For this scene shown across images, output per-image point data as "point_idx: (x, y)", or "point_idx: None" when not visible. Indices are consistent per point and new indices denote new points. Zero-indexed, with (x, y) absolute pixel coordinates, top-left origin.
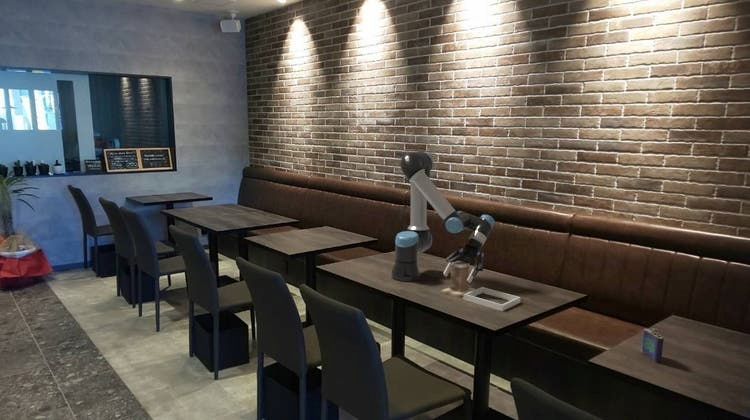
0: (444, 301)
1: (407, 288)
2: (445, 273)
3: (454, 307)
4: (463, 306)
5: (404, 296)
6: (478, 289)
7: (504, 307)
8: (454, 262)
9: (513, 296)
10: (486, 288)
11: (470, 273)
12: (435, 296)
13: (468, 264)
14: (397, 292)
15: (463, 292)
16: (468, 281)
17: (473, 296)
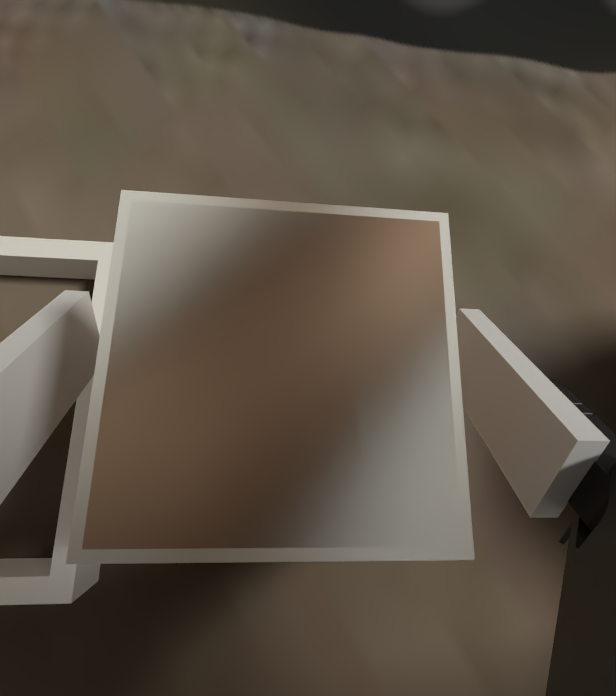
0: (225, 142)
1: (575, 193)
2: (459, 330)
3: (107, 90)
4: (63, 142)
5: (467, 62)
6: (67, 479)
7: None
8: (427, 319)
9: None
10: (4, 591)
11: (25, 346)
12: (334, 185)
13: (84, 489)
14: (549, 92)
15: None
16: (97, 336)
17: (16, 251)
